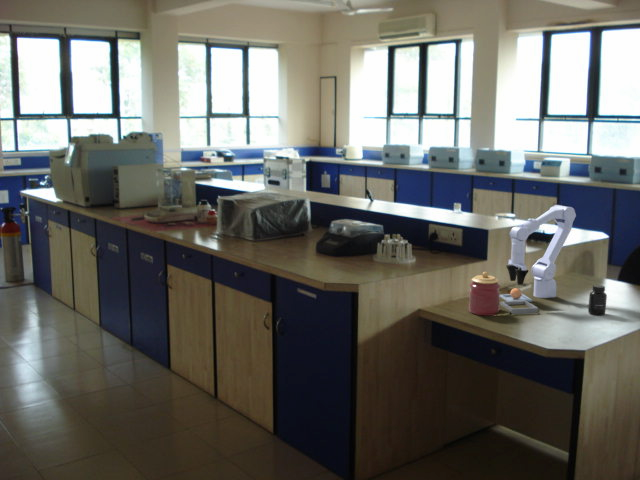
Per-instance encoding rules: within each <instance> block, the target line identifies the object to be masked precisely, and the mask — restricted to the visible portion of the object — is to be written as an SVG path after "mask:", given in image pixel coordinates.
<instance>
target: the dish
mask: <svg viewBox="0 0 640 480" xmlns="http://www.w3.org/2000/svg"><path fill="white" fill-rule="evenodd" d="M500 298H501V299H503V300H505V302H508V301H527V302H529V303H530V302H531V303H532V302H533V301H534V300H533V299H532V298H530V297H528V296H527V295H525V294H524V293H522V295H521V297H520V298H519V299H514V298H512V297H511V295H510V293H508V294H507V293H505V294H500Z"/></svg>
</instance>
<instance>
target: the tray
mask: <svg viewBox="0 0 640 480" xmlns="http://www.w3.org/2000/svg"><path fill="white" fill-rule="evenodd" d="M515 305H519V306H520V305H524V306H525V305H526V306H527V307H517V308H516V307H514V308H513V307H512V306H515ZM499 306H501V307H502V308H504V309H506V310H507V311H508V313H509V314H510V315H529V314H539V310H540V309H539V307H537V306H536V305H534V304H533V303H532V302H531V303H530V302H527V301H499Z"/></svg>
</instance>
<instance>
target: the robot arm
mask: <svg viewBox="0 0 640 480" xmlns="http://www.w3.org/2000/svg"><path fill="white" fill-rule="evenodd" d="M576 217H577V214H576V210H575V208H573V207H572V206H565V205H560V204H555V205H553V206H551V207H550V208H549V210H547V211H545V212H544V213H542V214H541V215H540V216H538V217H537V218H528V219H527V220H526V221H525V222H523V223H521V224H519V225H518V226H513V227H512V228H511V230H510V231H509V234H508V235H509V237H510V240H511V254H510V259H508V263H507V265H506V269H507V271H508V274H509V276H508V277H509V280H510V281H511V282H515V281H516V280H517V281H516V283H517V285H518V286H523V285H524V282H525V278H526V276H527V274H528V273H529V270H528V269H527V268H528V267H527V266H528V265H526V264H525V254H526V253H525V250H526V240H527V239H528V238H529V236H530V235H531V234H533V233H535V232H537V231H538V230H539V229H540V227H541V226H542V225H543V224H546V223H548V222H549V221H552V220H554V222H555V223H556V225H557V229H556V231H555V233H554V234H553V237H552V239H551V240H550V243H549V245H548V246H547V248H546V251H545V252H544V254H543V256H542V257H541V258H539V259H537V260H536V262H535V263H534V264H533V265H532V267H531V269H530V272H531V274H532V276H533V279H534V280H533V294H532V295H533V297H535V298H539V299H548V298H556V297H557V282H556V280H555V279H554V276H555V273H556V270H557V265H556V264H555V262H556V260H557V257H558V256H559V255H560V254H559V253H561V251H562V249H563V246H564V245H565V243H566V241H567V238H568V237H569V235H570V233H571V231H572V229H573V223H574V221H575V218H576Z"/></svg>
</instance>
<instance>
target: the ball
mask: <svg viewBox="0 0 640 480" xmlns="http://www.w3.org/2000/svg"><path fill="white" fill-rule="evenodd" d="M522 292H523V291H522V290H521V289H520V288H518V287H515V288H512V289H511V290H510V293H509V294H510V295H511V297H512V298H514V299H519V298H520V297H521V295H522V294H523V293H522Z"/></svg>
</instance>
